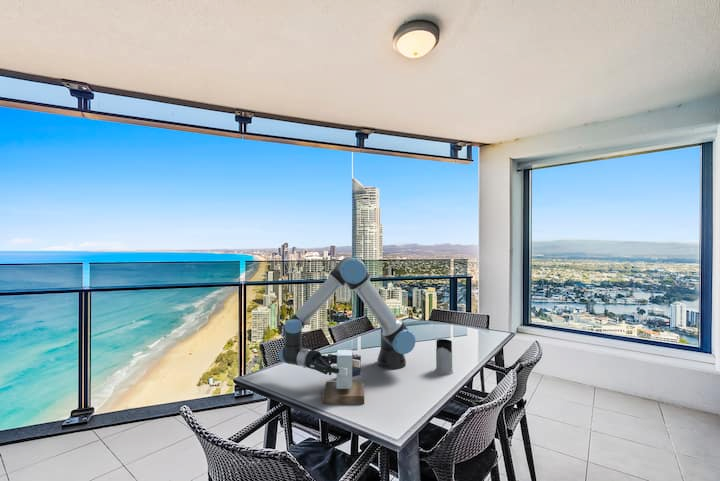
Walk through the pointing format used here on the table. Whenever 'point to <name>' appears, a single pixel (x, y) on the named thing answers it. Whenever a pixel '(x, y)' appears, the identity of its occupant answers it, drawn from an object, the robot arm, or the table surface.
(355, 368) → the flask
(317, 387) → the table surface
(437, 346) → the glass holder
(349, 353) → the small box
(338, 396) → the walnut plinth
